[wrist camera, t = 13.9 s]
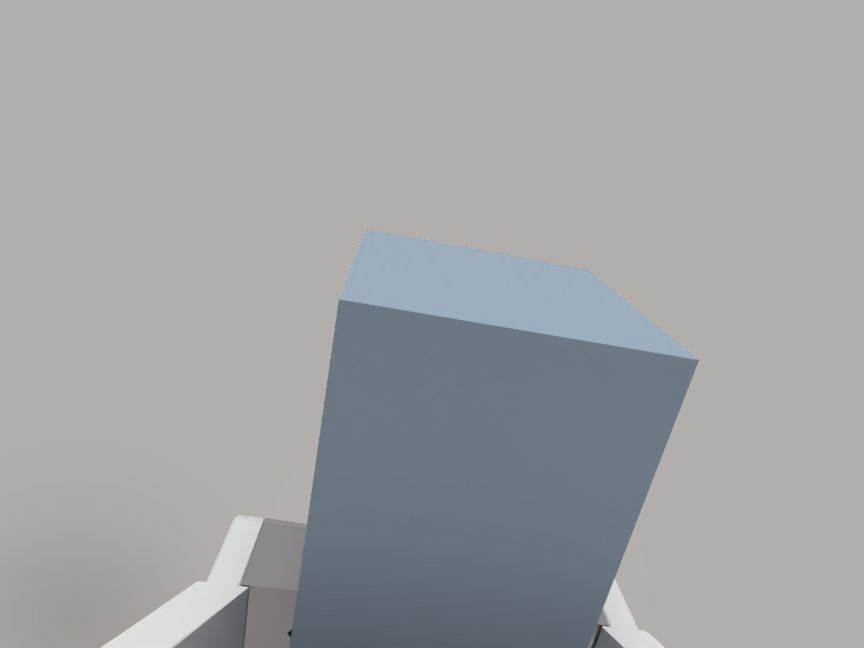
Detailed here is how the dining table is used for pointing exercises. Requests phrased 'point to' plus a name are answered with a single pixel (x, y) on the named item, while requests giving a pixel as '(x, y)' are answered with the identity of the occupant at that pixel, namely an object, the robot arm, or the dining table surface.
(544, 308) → the slate peg
